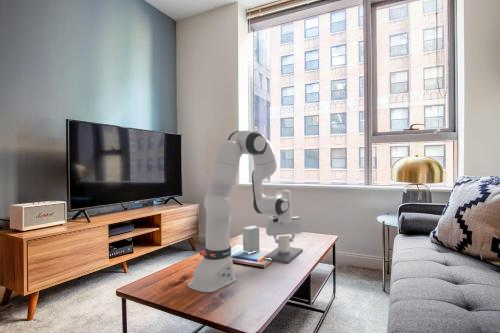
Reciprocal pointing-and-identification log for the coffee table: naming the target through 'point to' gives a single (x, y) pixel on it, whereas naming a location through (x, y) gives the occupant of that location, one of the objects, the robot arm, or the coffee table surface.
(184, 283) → the coffee table surface
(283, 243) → the white upright block
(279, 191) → the robot arm
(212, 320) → the coffee table surface
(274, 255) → the post base
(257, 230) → the skincare box
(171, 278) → the coffee table surface
